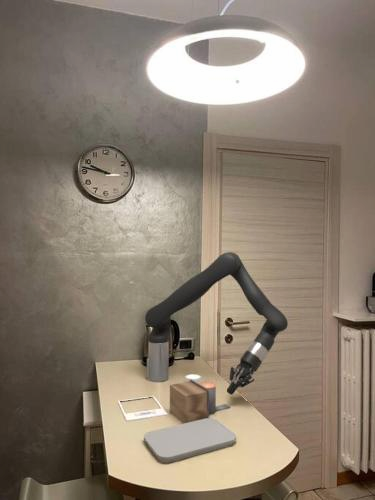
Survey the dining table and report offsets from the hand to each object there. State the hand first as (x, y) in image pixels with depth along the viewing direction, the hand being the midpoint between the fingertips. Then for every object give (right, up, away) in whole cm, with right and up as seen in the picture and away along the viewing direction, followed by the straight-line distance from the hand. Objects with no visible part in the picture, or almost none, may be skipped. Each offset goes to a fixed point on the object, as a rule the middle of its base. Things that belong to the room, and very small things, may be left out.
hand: (229, 393), depth 140 cm
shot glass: (-13, -5, +13) cm, 19 cm away
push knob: (-8, -5, -5) cm, 11 cm away
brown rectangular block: (-10, -5, -5) cm, 12 cm away
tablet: (-15, -6, -26) cm, 31 cm away
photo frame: (-33, -6, -2) cm, 33 cm away
